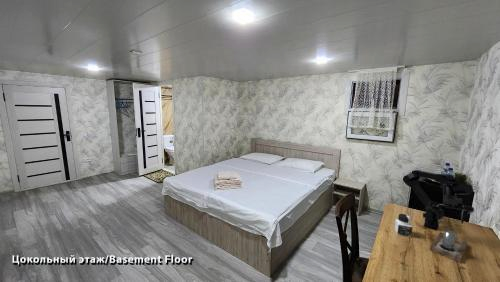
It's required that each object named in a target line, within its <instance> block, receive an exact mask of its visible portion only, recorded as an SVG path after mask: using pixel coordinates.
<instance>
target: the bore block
mask: <svg viewBox="0 0 500 282" xmlns="http://www.w3.org/2000/svg"><path fill="white" fill-rule="evenodd" d="M443 238H444V232H441V231H440V232H438V234H437V236H436V237H435V239H434V240H433V242H432V243H431V244H430V247H429V251H431V252H433V253H435V254H437V255H438V254H439V255H440V256H443V257H445V258H447V259H450V260H451V261H454V262H457V263H459V264H460V263H461V261H462V260H463V259H462V258H463V257H464V254H465V251H466V249H467V248H468V242H469V241H466V240H463V239H461V238H458V237H455V242H454V247H453V252H450V251H446V250H444V249H442V244H443Z"/></svg>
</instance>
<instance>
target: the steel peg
mask: <svg viewBox="0 0 500 282" xmlns="http://www.w3.org/2000/svg"><path fill="white" fill-rule="evenodd" d="M443 233H444V238H443V244H442V249H444V250H446V251H450V252H453V247H454V242H455V238H456V236H457V233H456V232H455V231H453V230H450V229H445V230H444V232H443Z"/></svg>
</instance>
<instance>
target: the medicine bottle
mask: <svg viewBox="0 0 500 282" xmlns="http://www.w3.org/2000/svg"><path fill="white" fill-rule="evenodd" d="M397 217H398V218H395V222H394V230H395V233H396V234H397V235H398V236H403V237H407V238H411V237H412V231H413V226H412V224H411V220H412V219H411V216H409V214H406V213H399V214H398V216H397Z"/></svg>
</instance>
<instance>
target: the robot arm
mask: <svg viewBox="0 0 500 282" xmlns="http://www.w3.org/2000/svg"><path fill="white" fill-rule="evenodd" d="M421 178H426V179H428V180H429V179H430V180H433V181H435V182H437V183H439V184H440V185H439V188H442V196H443V197H442V198H443V199H442V200H443V203H439V202H438V201H436V200H431V198H430V197H429V196H428V194H427V193H426V192H425V191H424V189H423V188H422V187H421V186H420V181H419V180H420V179H421ZM402 181H403V183H404V184H405V185H406V186H408V187H409V188H411V189H412V190H413V191H414V194H415V195H416V196H417V197H418V199H419V200H420V201H421V202H422V204H423V205H424V208H425V212H424V213H422V218H424V223H423V227H424V228H427V229H430V230H433V231H437V230H439V227H440V221H439V220H442V219H443V218H444V217H445V210H444V209H443V208H447V209H456V210H461V215H460V218H461V219H460V222H461V223H460V224H464V221H465V218H466V216H467V215H470V214H471V213H475V208H474V207H473V206H472V205H465V204H463V198H462V197H457V195H460V196H461V195H471V194H472V193H473V187H472V186H471V185H470V184H468V182H467V181H462V182H461V181H459V180H458V179H456V178H455V177H454V175H453V174H451V173H435V172H432V171H431V172H429V171H424V170H421V169H415V170H412V171H411V172H410V173H408V174H406V175H404V176H403V177H402ZM461 205H462V206H461Z"/></svg>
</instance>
